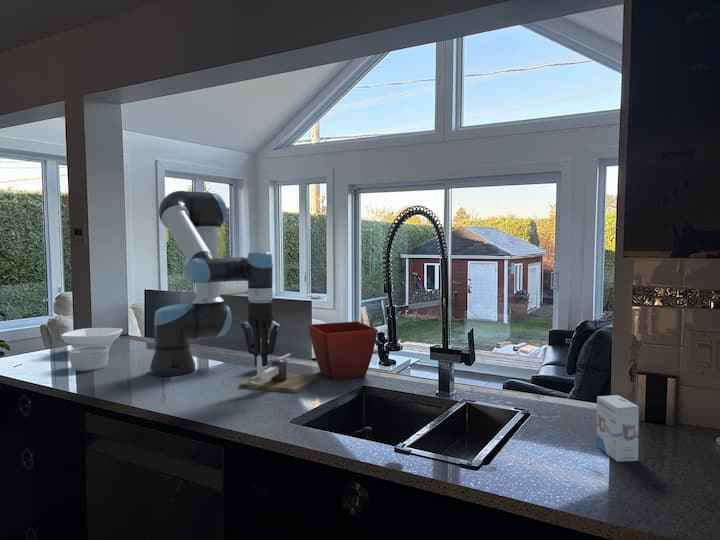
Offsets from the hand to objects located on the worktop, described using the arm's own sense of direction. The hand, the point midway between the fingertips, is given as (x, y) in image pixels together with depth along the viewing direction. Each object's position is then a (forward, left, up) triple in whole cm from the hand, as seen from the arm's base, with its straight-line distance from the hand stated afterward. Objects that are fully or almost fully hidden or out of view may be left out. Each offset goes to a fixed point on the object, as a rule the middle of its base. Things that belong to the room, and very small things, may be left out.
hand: (261, 376), depth 160 cm
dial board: (+2, +8, -4) cm, 9 cm away
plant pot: (+18, +25, -4) cm, 31 cm away
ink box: (+97, -21, -4) cm, 100 cm away
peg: (+2, +7, -3) cm, 8 cm away
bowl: (-94, +29, -4) cm, 98 cm away
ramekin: (-74, +7, -4) cm, 74 cm away
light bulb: (-12, +24, -4) cm, 27 cm away
